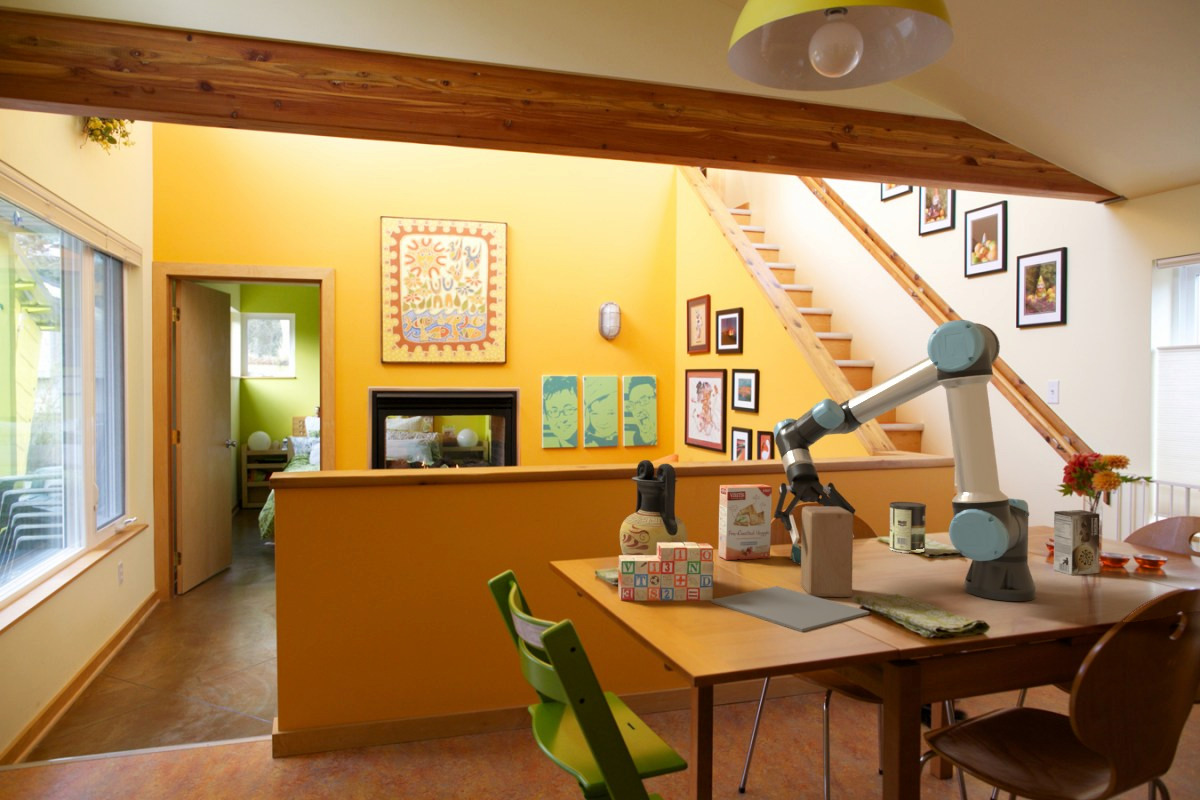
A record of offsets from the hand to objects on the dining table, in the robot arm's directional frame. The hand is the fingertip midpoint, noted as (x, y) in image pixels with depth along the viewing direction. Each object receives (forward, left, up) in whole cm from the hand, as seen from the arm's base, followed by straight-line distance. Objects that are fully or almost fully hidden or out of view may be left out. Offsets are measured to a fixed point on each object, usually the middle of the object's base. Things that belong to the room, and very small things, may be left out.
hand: (823, 540), depth 187 cm
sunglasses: (+23, -27, -13) cm, 38 cm away
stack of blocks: (+18, +34, -13) cm, 41 cm away
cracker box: (+37, -12, -13) cm, 41 cm away
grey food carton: (-25, -74, -13) cm, 79 cm away
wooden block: (-1, 0, -13) cm, 13 cm away
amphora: (+31, +27, -13) cm, 43 cm away
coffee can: (+17, -61, -13) cm, 65 cm away
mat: (-5, +18, -12) cm, 22 cm away
